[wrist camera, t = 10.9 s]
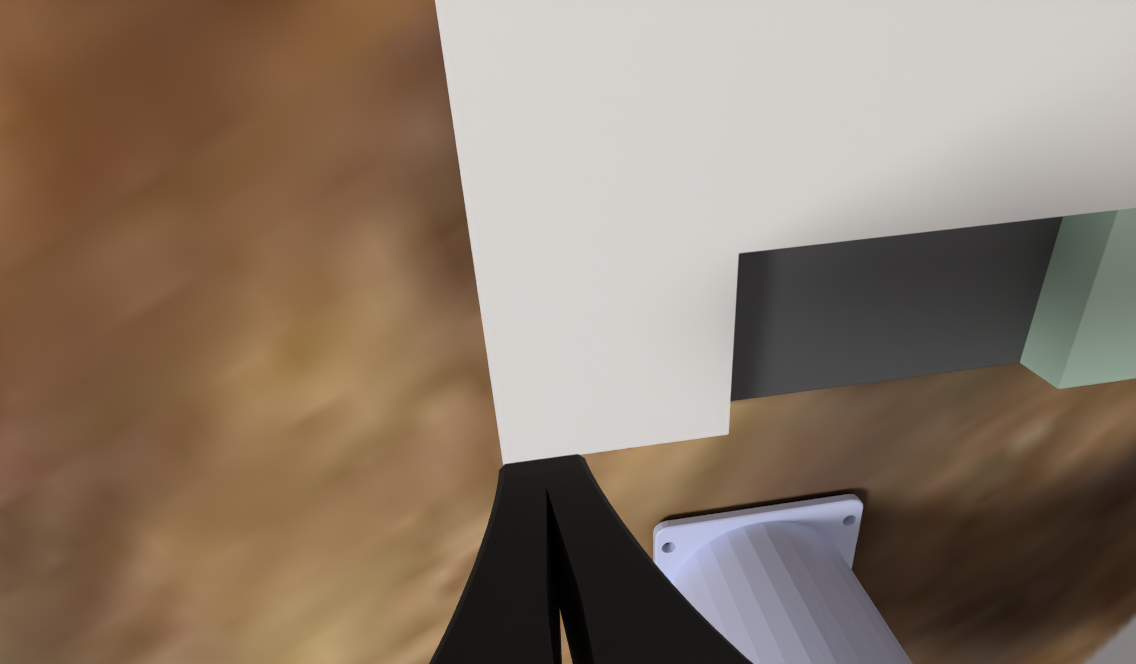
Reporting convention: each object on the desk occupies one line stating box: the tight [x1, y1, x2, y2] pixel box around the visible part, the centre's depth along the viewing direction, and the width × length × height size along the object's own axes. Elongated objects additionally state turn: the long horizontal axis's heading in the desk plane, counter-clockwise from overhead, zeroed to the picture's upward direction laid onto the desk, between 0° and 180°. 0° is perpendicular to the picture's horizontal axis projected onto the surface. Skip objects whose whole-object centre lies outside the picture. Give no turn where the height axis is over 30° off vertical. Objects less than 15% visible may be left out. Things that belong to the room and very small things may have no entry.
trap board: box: [435, 0, 1136, 465], centre depth 17 cm, size 20×26×2 cm
